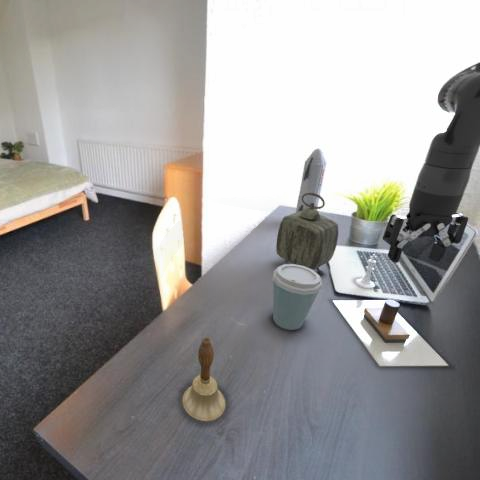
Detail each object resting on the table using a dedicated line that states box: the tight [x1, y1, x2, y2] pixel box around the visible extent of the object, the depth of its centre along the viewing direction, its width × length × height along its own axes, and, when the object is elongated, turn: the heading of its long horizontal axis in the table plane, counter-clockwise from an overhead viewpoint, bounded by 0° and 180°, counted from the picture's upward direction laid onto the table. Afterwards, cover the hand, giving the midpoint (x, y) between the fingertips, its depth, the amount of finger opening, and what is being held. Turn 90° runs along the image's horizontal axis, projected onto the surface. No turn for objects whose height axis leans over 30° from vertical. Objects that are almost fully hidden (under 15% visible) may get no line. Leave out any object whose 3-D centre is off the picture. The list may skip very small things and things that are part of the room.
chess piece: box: [355, 253, 378, 289], centre depth 93 cm, size 5×5×10 cm
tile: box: [331, 299, 450, 368], centre depth 78 cm, size 14×22×1 cm, turn 179°
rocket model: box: [295, 148, 327, 213], centre depth 126 cm, size 14×7×30 cm, turn 125°
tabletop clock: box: [275, 193, 339, 276], centre depth 97 cm, size 14×9×25 cm, turn 34°
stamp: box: [364, 299, 410, 343], centre depth 76 cm, size 9×5×8 cm, turn 0°
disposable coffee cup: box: [272, 263, 323, 331], centre depth 78 cm, size 11×11×15 cm
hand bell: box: [182, 337, 226, 422], centre depth 59 cm, size 8×8×16 cm
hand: (413, 260), depth 71 cm, fingers open, 8 cm apart
